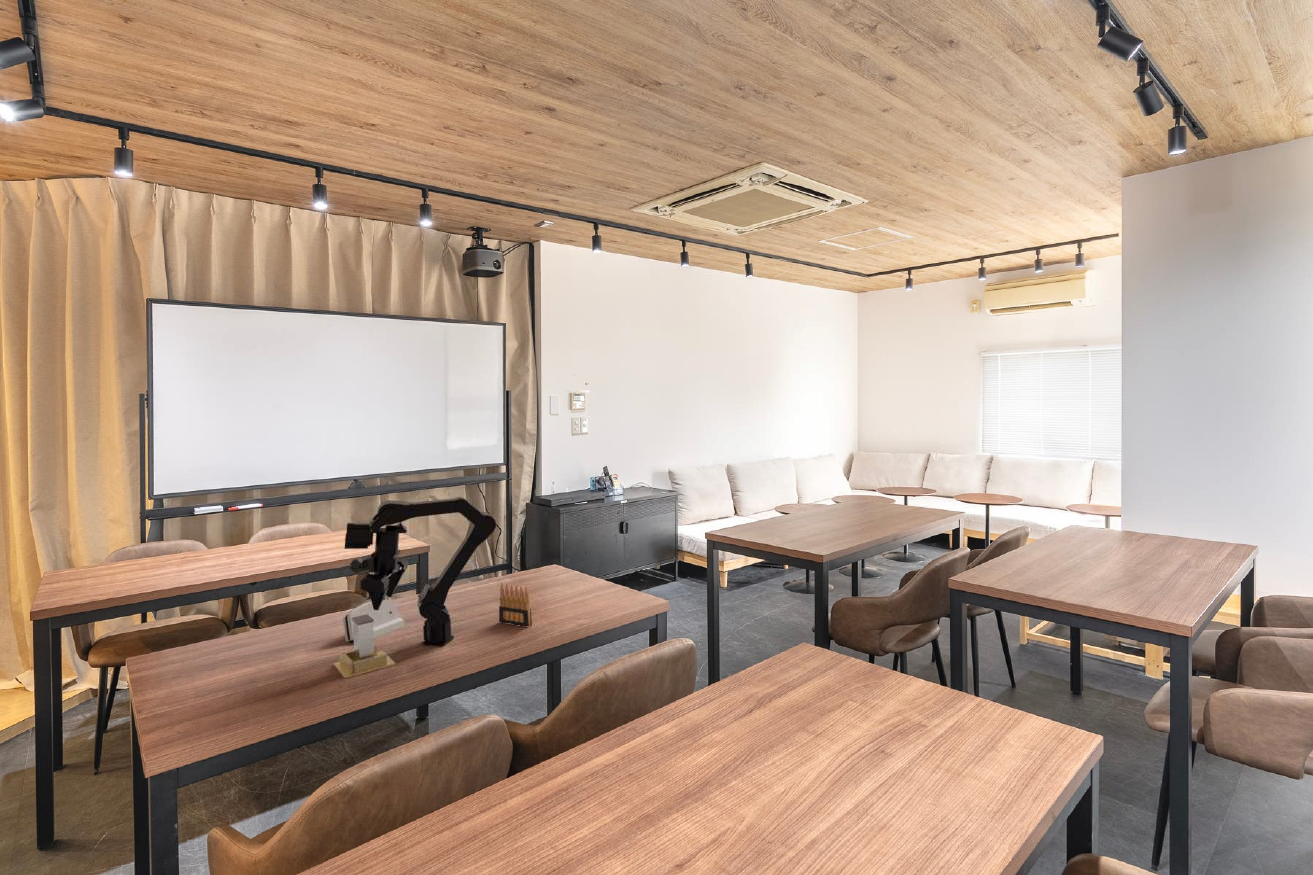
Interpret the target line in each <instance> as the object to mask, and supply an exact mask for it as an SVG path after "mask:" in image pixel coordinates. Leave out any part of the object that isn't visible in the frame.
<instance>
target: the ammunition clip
mask: <svg viewBox="0 0 1313 875" xmlns="http://www.w3.org/2000/svg"><path fill="white" fill-rule="evenodd" d="M499 591H500V592H499V605H498V623H499V622H501V623H500V624H503V623H511V624H514V625H513V626H515V625H520V626H519V627H522V626H530V627H531V626H532V625H533V622H532V621H533V620H532V609H531V602H530V595H529V594H530V593H529V589H528V586H526V585H525V588H524V587H523V585H520V588H519V587H518V584H517V585H516V584H515V587H514V586H513V584H511V585H510V588H509V584H508V583H506V585H505V586H504V583H503V582H502V583H501V584H500V590H499Z"/></svg>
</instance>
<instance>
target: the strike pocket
mask: <svg viewBox="0 0 1313 875" xmlns="http://www.w3.org/2000/svg"><path fill="white" fill-rule="evenodd" d="M374 655H375V657H371V658H367V659H363V660H359V661H355V656H354V649H352V650H347V651H343V652H340V653H339V655H338V656H339V661H338V662H334V663H333V666H334V667H335V668H336V670H337V671H338V672H339V674H341V676H342V677H343V678H344V679H349V678H351V677H355V676H358V675H362V674H366V673H369V672H373V671H377V670H380V669H384V668H388V667H391V666H395V665H396V662H395V661H394V660H393V659H392V658H391V657H390V656H389V655H387V653H385V652H384V650H380V651H378V647H377V645H376V644H374Z"/></svg>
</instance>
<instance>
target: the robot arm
mask: <svg viewBox="0 0 1313 875" xmlns="http://www.w3.org/2000/svg"><path fill="white" fill-rule="evenodd" d="M376 512H377V513H376V514H375V515H374V516H373V517H372V518H371V519H370V520H369V522H366V523H365V522H364V523H362V522H361V523H360V522H358V523H357V522H347V523H346V531H345V532H346V533H345V537H344V538H345V539H344V550H356V549H357V550H361V549H363V550H364V549H366V550H367V549H369V547H371V546H373V544H374V534H375V544H374V551H373V552H372V553H371V554H367V555H363V556H359V557H357V558H354V559H352V560H351V561H350V563H349V565H350V567H349V570H351V571H352V573H353V574H355V575H356V574H359V573H361V572H366V571H368V572H369V573H368V574H367V575H366V576H364V577H363V578H362V579H361V580H359V589H360V590H362V592H363V591H364V592H367V593H368V595H369V598H370V602H372V605H373V609H374V610H379V608H380V606H381V603H382V601H383V600H385V599H384V598H385V597H386V596H387V598H391V597H393V594H394V593H395V591H396V589H397V587H398V586H399V583H400V581H401V579H402V578H403V577H404V575H405V573H406V570H407V569H408V568H409V567H408V566H409V561H408V559H406V558H405V557H400V556H399V555H401V549H399V542H400V541H399V540H400V534H407V533H408V529H407V527H406V526H405V525H404V524H403V522H405V521H409V520H411V519H414V518H420V517H428V516H439V515H447V514H448V515H449V514H457V513H459V514H460V515H461V516H463V518H465V519H467V521H469V522H470V523H469V526H468V528H467V531H466V534H465V536H464V539H463V540H462V542H461V543H460V545H459V546H458V548H457V549H456V551H455V552H454V554H453V556H452V557H451V558H450V560H449V561H448V562H447V564H446V566H445V567H444V568H443V571H442V572H441V573H440V575H439V577H438V578H437V580H435V582H434V583H432V584H431V585H429V584H428V583H425V585H424V587H423V589H422V590H421V592H420V593H419V594H417V598H418V600H417V608H418V612H419V615H420V616H421V617H422V618H424V619H425V620H423V621H424V624H423V628H422V633H423V634H422V635H423V642H421V645H422V646H436V647H437V646H438V647H444V646H445V645H446V644H448V643H449V642H451V641H452V640H453V639H454V638H455V635H452V621H451V619H452V618H451V615H450V613H449V610H448V608H447V606H446V605H445V604H446V600H447V596H448V593H449V591H450V589H451V587H452V586H453V584H454V583H455V582H456V580H457V578H458V577H459V575H460V574H461V572H462V570H463V569H464V568H465V566H466V565H467V564H468V562H469V560H470V558H471V557H472V556H473V554H474V552H475V551H476V550H477V548H478V547H479V546H480V545H482V544H483V543H484V542H485V541H486V540H488V539H489V537H491V535H492V534H493V533H494V532H495V530H496V528H497V522H496V520H495V518H494V517H493V516H492V515H491V514H490V513H488V512H486V511H480V510H479V509H477V508H476V507H475V506H474V505H473V504H471V503H470V502H468V500H467V499H466V498H465V497H462V496H457V497H455V498H454V497H453V498H445V499H444V498H443V499H436V500H435V499H434V500H425V501H416V502H414V501H406V500H405V501H403V500H384V501H382V502H381V503H380V504H379V505H378V507H377V511H376ZM373 573H375V574H373Z"/></svg>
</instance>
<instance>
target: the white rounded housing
mask: <svg viewBox="0 0 1313 875" xmlns="http://www.w3.org/2000/svg"><path fill="white" fill-rule="evenodd" d="M366 614H368V615H369V616H370V617H371V618H372V619H374V622H373V634H374V639H375V638H377V637H380V636H382V635H386V634H388V633H390V632H392V631H395V630H397V629H400V628H403V627H405V626H406V623H405V620H404V619H403V618H402V616H401V614H400V612H399V610H398V608H397V605H396V603H395V601H394V600H393V599H383V601H382V603H381V606H380V608H379V610H374V609H373V605H372V602H371V601H369V602H365V603H363V604H360V605H359V606H356V607H354V608H353V609H352V610H350V611H349V612H348V613H346V614H345V615H344V616H343V617H342V622H343V630H344V638H345V642H350V641H354V636H353V621H352V618H353V617H357V616H362V615H366Z"/></svg>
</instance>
